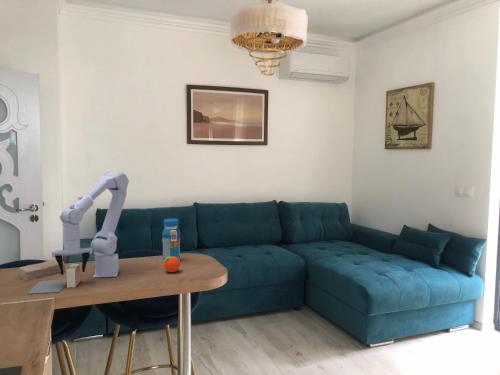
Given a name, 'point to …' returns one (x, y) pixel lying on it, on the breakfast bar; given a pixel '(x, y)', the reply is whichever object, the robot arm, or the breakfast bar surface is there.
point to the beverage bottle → (171, 239)
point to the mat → (48, 287)
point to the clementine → (171, 264)
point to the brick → (39, 270)
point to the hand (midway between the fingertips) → (72, 272)
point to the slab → (73, 275)
